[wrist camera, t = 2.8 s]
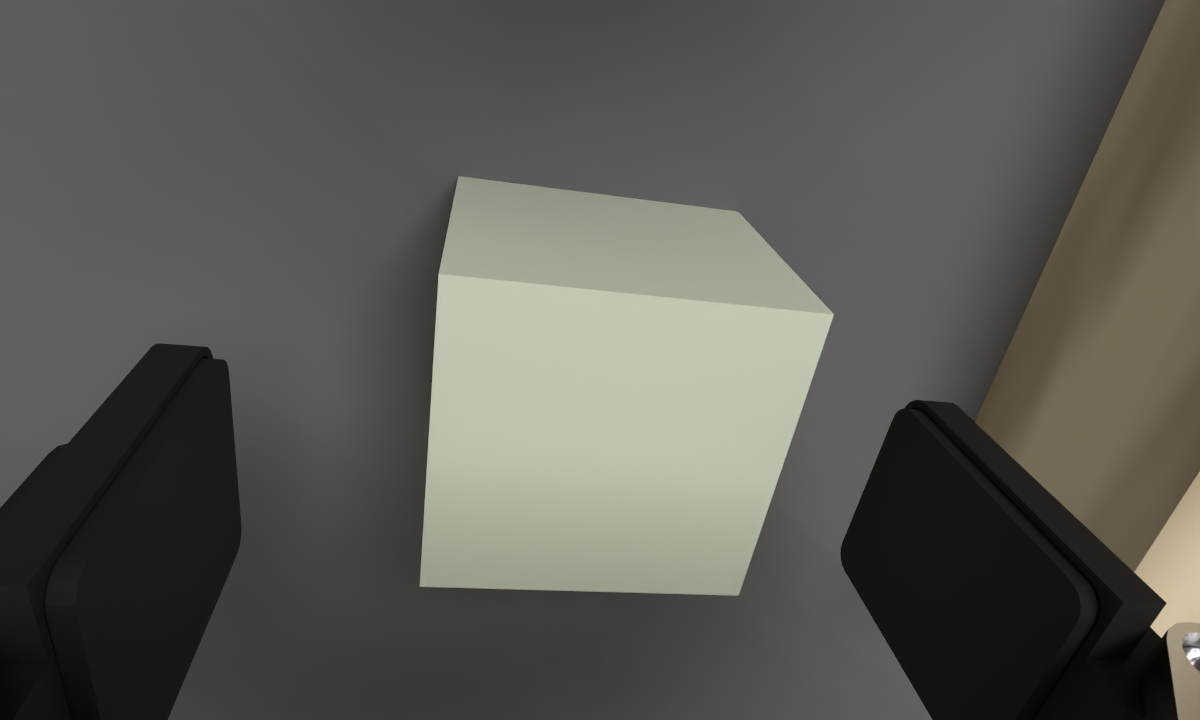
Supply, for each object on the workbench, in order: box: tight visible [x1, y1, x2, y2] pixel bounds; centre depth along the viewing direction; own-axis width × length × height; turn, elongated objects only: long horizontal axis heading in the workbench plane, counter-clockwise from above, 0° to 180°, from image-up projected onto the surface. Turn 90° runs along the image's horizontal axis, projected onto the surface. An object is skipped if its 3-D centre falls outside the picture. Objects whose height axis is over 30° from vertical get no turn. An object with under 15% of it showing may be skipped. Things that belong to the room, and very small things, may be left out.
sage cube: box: [420, 176, 834, 596], centre depth 12 cm, size 5×5×4 cm
